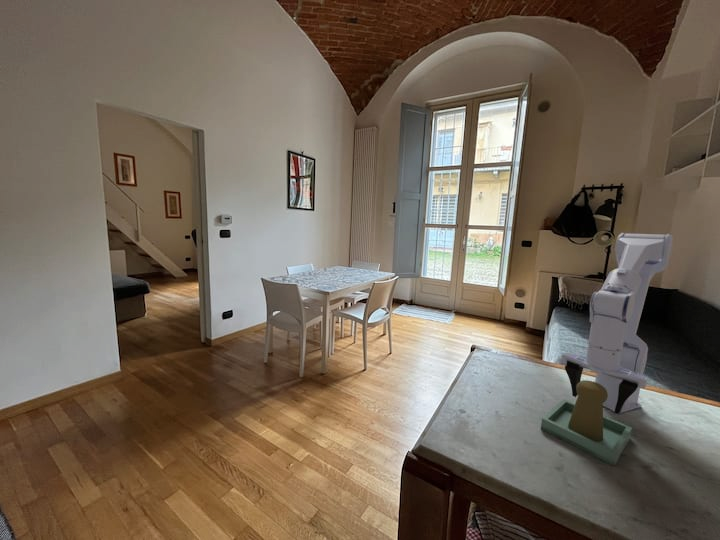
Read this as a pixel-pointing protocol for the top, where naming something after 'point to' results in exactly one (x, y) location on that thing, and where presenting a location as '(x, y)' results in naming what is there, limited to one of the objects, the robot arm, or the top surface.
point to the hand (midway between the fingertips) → (595, 403)
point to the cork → (589, 410)
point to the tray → (605, 450)
